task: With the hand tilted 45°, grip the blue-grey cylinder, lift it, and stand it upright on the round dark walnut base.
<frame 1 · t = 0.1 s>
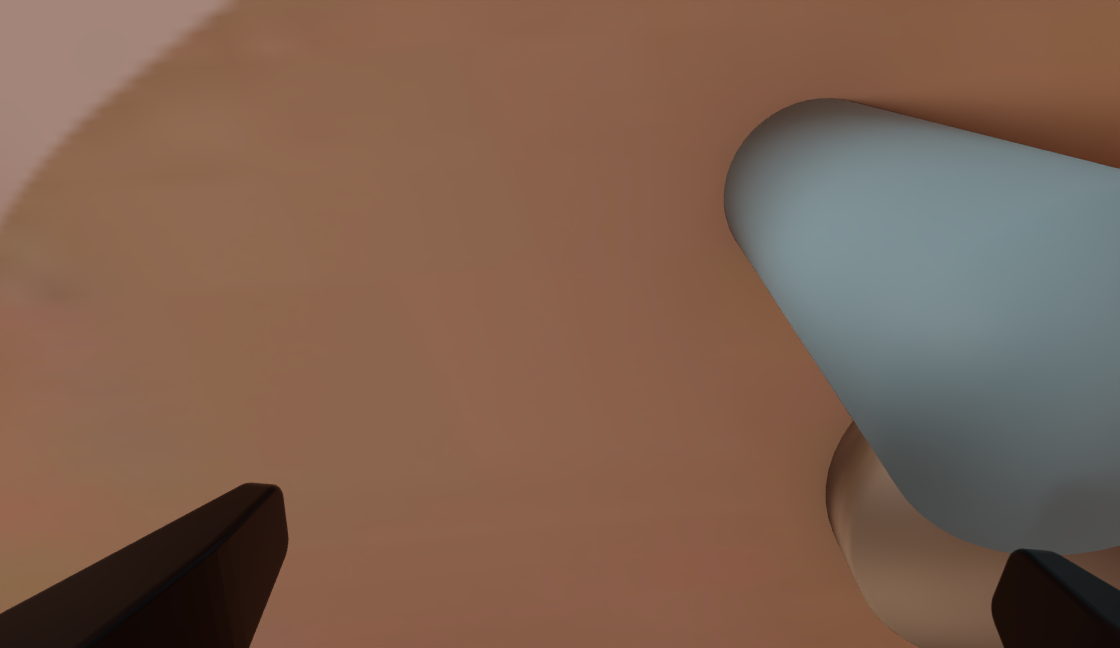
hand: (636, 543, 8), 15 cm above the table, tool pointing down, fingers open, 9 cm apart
walnut base: (982, 482, 25), on the table
blue-grey cylinder: (814, 191, 21), on the table
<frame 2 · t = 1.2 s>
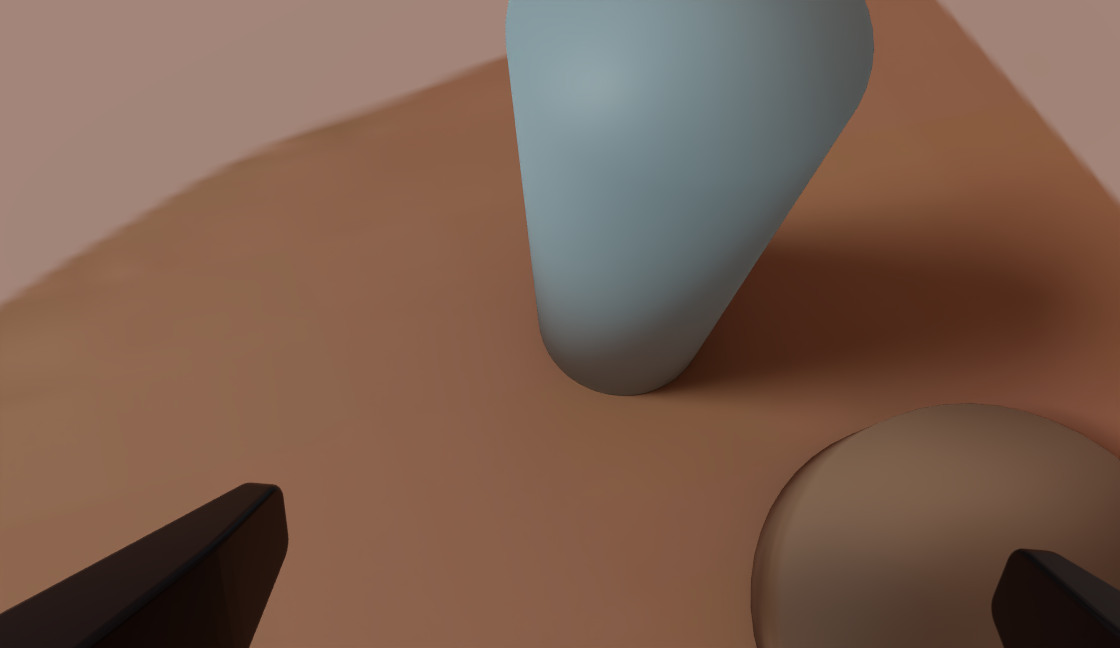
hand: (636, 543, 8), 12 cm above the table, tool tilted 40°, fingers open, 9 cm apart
walnut base: (943, 613, 20), on the table
blue-grey cylinder: (621, 314, 23), on the table
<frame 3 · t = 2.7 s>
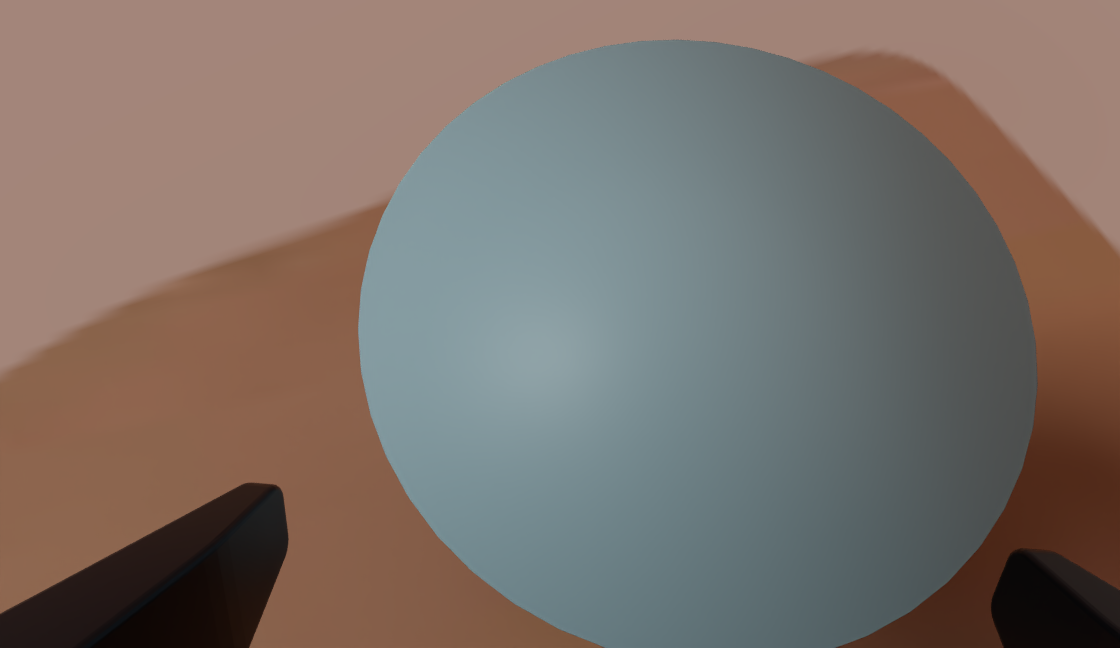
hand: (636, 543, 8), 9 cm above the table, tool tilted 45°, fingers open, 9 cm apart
blue-grey cylinder: (603, 504, 18), on the table
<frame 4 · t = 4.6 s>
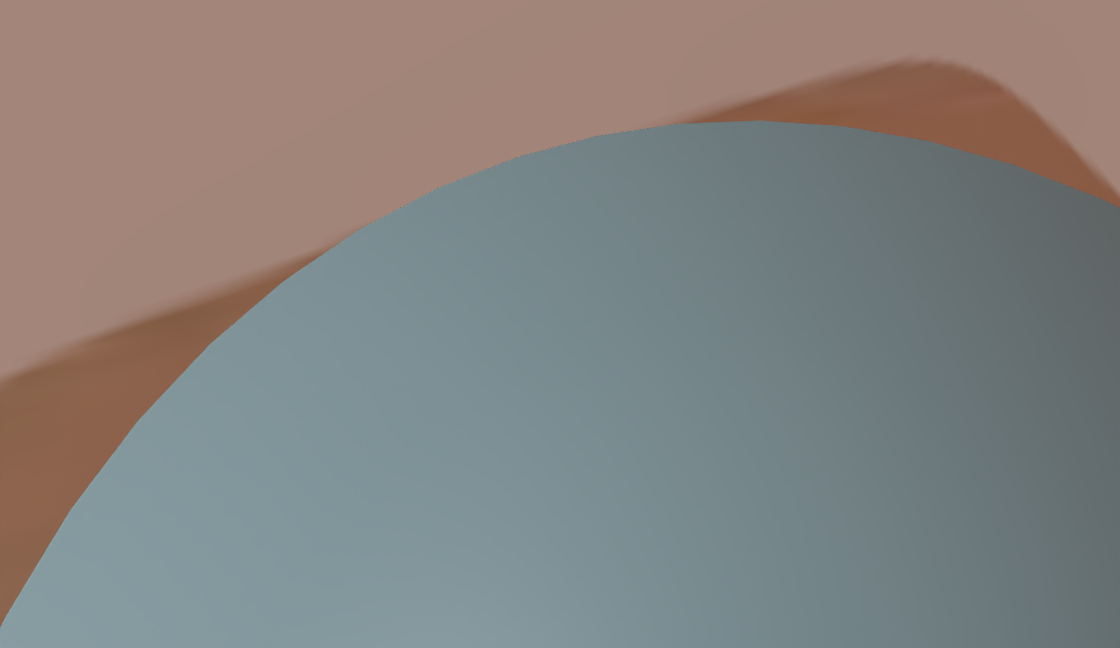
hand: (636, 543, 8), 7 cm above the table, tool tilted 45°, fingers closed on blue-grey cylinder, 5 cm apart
blue-grey cylinder: (600, 637, 14), on the table, touching gripper
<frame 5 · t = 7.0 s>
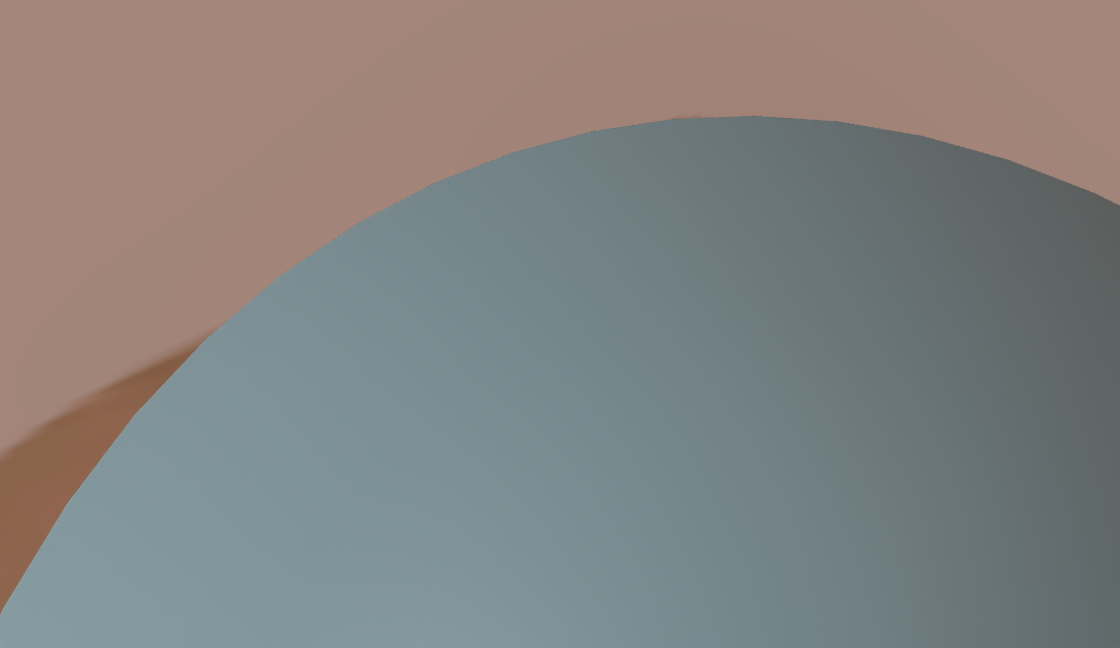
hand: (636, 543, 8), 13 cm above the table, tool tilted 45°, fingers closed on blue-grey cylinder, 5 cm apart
blue-grey cylinder: (600, 636, 14), point 7 cm above the table, touching gripper
when the fingers open (11 cm above the table, at t = 9.3 s): blue-grey cylinder drops 1 cm, resting on walnut base.
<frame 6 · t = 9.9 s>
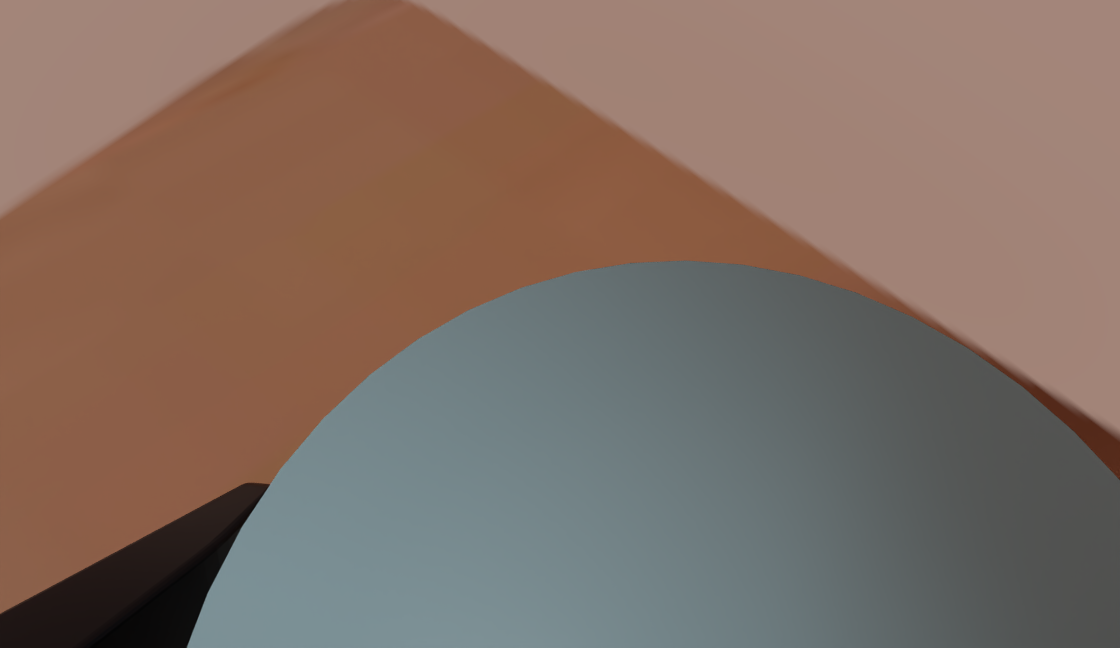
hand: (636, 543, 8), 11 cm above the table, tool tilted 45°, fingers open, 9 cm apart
blue-grey cylinder: (597, 637, 15), point 3 cm above the table, touching walnut base
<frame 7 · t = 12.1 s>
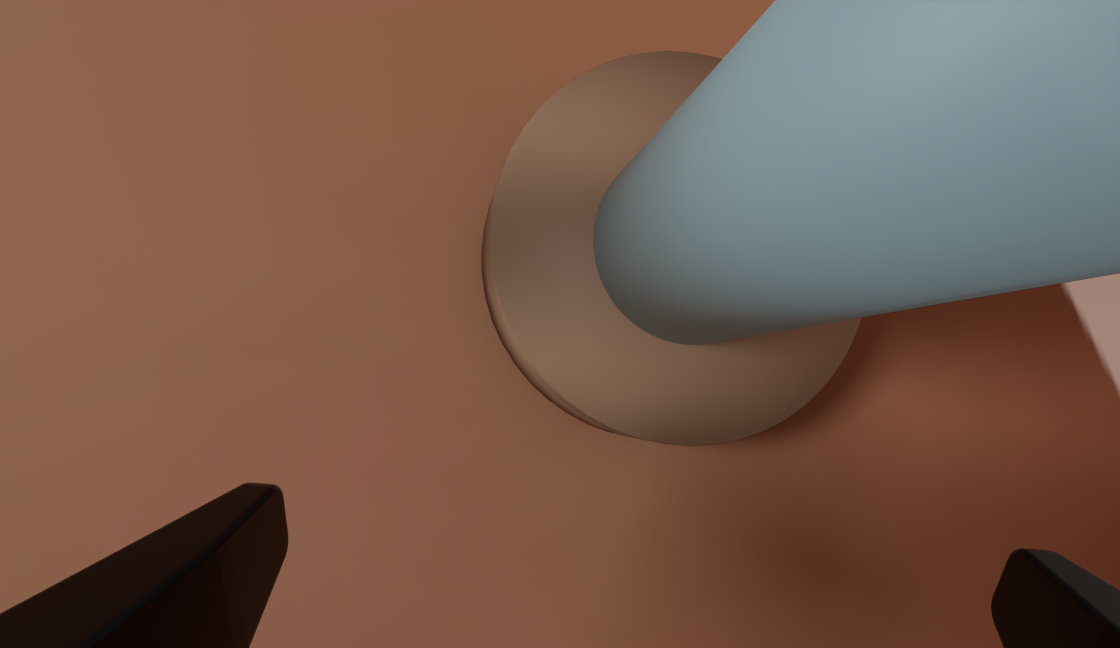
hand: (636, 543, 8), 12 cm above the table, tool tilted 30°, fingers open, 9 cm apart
walnut base: (654, 263, 22), on the table
blue-grey cylinder: (690, 245, 19), point 3 cm above the table, touching walnut base
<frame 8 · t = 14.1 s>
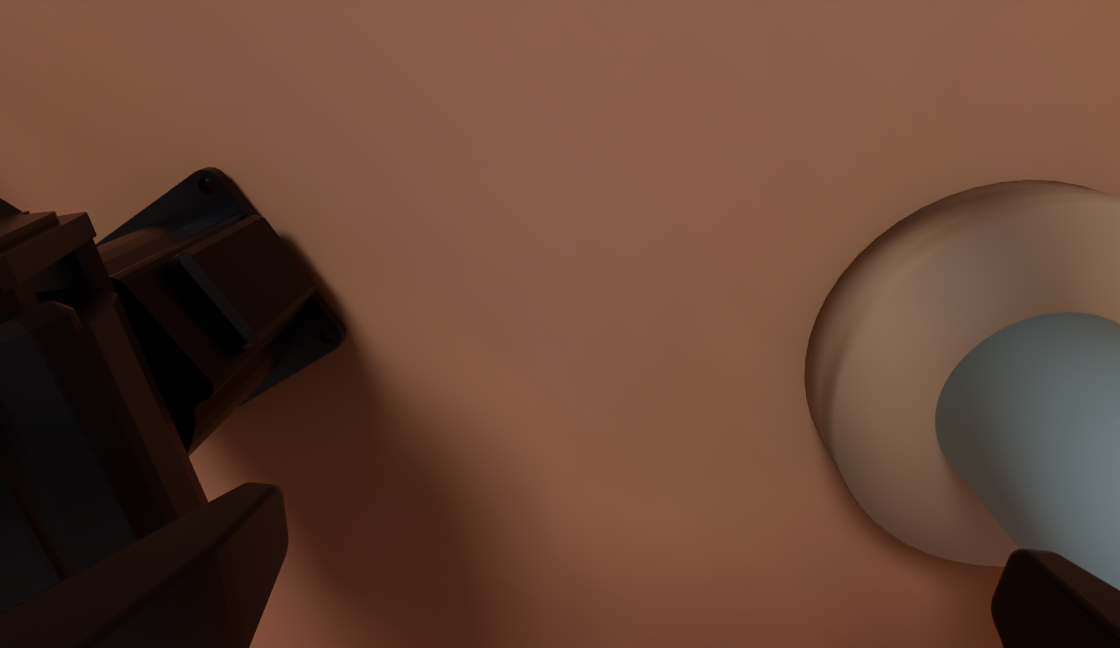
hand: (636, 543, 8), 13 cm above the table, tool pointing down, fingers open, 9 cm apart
walnut base: (987, 358, 21), on the table
blue-grey cylinder: (1042, 406, 18), point 3 cm above the table, touching walnut base
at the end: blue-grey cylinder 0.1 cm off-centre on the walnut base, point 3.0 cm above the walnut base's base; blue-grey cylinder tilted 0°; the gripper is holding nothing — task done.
